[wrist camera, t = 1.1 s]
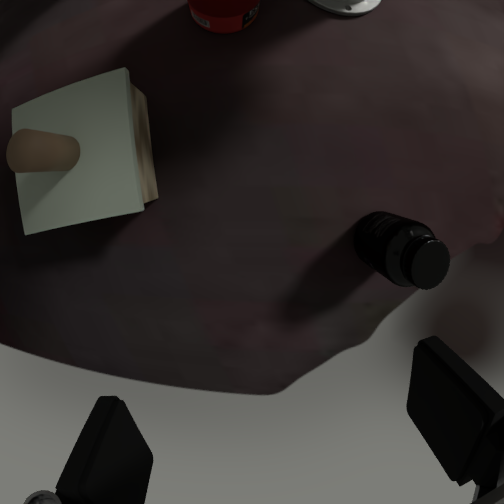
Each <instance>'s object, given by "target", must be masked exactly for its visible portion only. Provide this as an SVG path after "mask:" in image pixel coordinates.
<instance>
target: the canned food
mask: <svg viewBox="0 0 504 504" xmlns="http://www.w3.org/2000/svg"><path fill="white" fill-rule="evenodd" d="M187 1H188V4H189V8H190V12H191V15H192V17H193V19H194V21H195V22H196V23H197V24H198V25H200V26H201V27H202V28H204V29H206V30H208V31H210V32H214V33H220V34H228V33H234V32H238V31H240V30H242V29H244V28H246V27H247V26H249V25H250V24H251V23H252V22H253V21H254V20H255V18H256V16H257V14H258V10H259V5H260V0H187Z"/></svg>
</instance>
